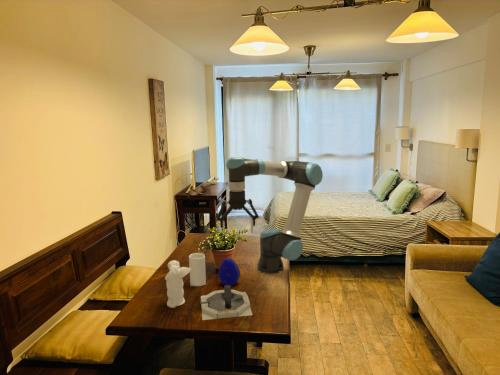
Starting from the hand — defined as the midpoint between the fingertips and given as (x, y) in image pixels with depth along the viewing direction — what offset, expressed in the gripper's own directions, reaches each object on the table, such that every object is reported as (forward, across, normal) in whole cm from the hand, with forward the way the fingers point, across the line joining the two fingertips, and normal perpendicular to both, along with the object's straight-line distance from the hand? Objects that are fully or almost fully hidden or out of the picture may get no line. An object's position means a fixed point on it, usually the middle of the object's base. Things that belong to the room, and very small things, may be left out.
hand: (238, 233), depth 175 cm
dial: (+31, -8, -11) cm, 34 cm away
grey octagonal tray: (+32, -8, -11) cm, 34 cm away
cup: (+32, -20, +15) cm, 41 cm away
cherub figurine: (+32, -29, -4) cm, 43 cm away
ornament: (+32, -4, +11) cm, 34 cm away
